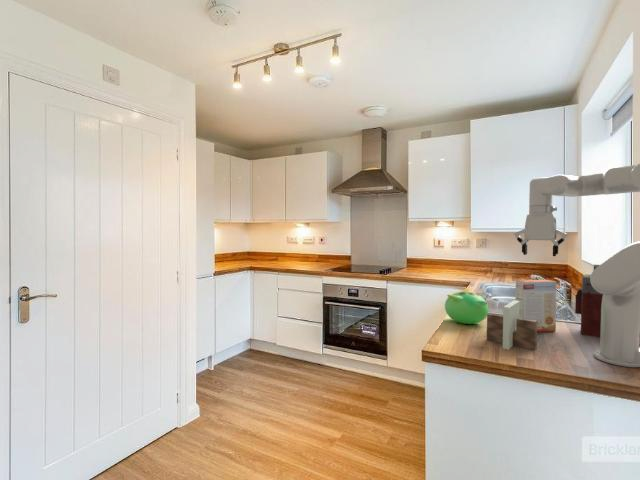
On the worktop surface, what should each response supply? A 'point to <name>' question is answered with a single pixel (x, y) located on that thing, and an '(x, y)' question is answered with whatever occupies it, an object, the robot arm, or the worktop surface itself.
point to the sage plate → (509, 323)
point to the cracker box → (537, 302)
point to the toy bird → (466, 307)
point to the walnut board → (521, 337)
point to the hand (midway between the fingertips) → (539, 255)
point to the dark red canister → (589, 307)
